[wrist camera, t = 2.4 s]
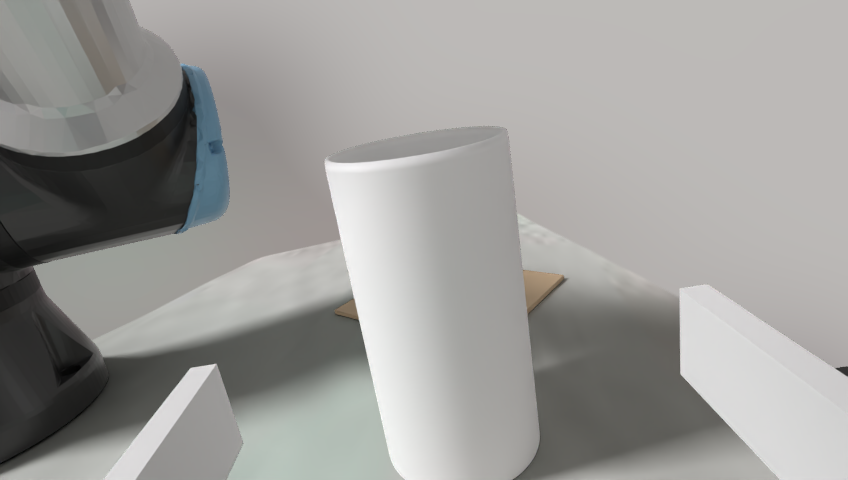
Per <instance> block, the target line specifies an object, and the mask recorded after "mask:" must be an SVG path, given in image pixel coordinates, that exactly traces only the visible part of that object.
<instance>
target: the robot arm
mask: <svg viewBox="0 0 848 480" xmlns="http://www.w3.org/2000/svg"><path fill="white" fill-rule="evenodd" d="M222 143H223V141H222V136H221V127H220V122H219V118H218V113H217V109H216V104H215V100H214V97H213V93H212V90H211V87H210V84H209V81H208V79H207V76H206V74H205V73H204V71H203V70H202V69H200V68H199V67H196V66H188V65H185V64H180V62H179V60H178V58H177V56H176V55H175V53H174V51H173V50H172V49H171V47H170V46H169V45H168V44H167V43H166V42H165V41H164V40H163V39H161V38H160V37H159V36H157V35H156V34H154V33H152V32H151V31H149V30H147V29H144V28H143V27H140V26H139V25H138V22H137V19H136V17H135V14H134V11H133V9H132V6H131V4H130V1H129V0H0V463H1V462H3V461H5V460H7V459H9V458H11V457H13V456H15V455H17V454H18V453H20V452H22V451H24V450H26V449H27V448H29V447H31V446H33V445H34V444H36V443H38V442H39V441H41V440H43V439H44V438H46V437H47V436H49V435H50V434H52V433H54V432H55V431H57V430H58V429H59V428H61V427H62V426H64V425H65V424H66V423H68V422H69V421H70V420H72V419H73V418H74V417H76V416H77V415H78V414H79V413H80V412H82V411H83V410H84V409H85V408H86V407H87V406H88V405H89V404H90V403H91V402H92V401H93V400H94V399H95V398H96V397H97V396H98V395H99V394H100V392H101V391H102V389H103V388H104V386H105V384H106V382H107V380H108V369H107V367H106V365H105V362H104V360H103V358H102V355H101V353H100V351H99V349H98V347H97V346H96V345H95V344H94V343H93V342H92V341H91V340H90V339H89V338H88V337H87V336H86V335H85V334H84V333H83V332H82V331H81V330H80V329H79V328H78V327H77V326H76V325H75V324H74V323H73V322H72V321H71V320H70V319H69V318H68V317H67V316H66V315H65V314H64V313H63V312H62V311H61V309H60V308H59V307H57V306H56V304H54V303H53V301H52V300H51V299H50V298H49V297H48V296H47V295H46V294H45V292H44V290H43V288H42V286H41V284H40V281H39V279H38V277H37V275H36V272H35V270H34V268H33V266H34V265H38V264H42V263H48V262H50V261H53V260H58V259H63V258H67V257H72V256H76V255H81V254H85V253H89V252H94V251H98V250H103V249H107V248H112V247H116V246H121V245H125V244H130V243H134V242H138V241H142V240H147V239H152V238H156V237H161V236H165V235H169V234H179V233H183V232H184V231H186V230H188V228H191V227H195V226H198V225H202V224H205V223H209V222H212V221H215V220H217V219H219V218H220V217H221V216H222V215H223V214H224V213H225V211H226V210H227V207H228V204H229V197H230V188H229V177H228V168H227V161H226V155H225V151H224V148H223V146H222ZM680 374H681V375H682V376H683V377H684V379H685V380H686V381H687V382H688V383H689V384H690V385H691V386H692V387H693V388H694V389H695V390H696V391H697V392H698V393H699V394H700V395H701V397H702V398H703V399H704V400H705V401H706V402H707V403H708V404H709V405H710V406H711V407H712V408H713V409H714V410H715V411H716V412H717V413H718V415H719V416H720V417H721V418H722V419H723V420H724V421H725V422H726V423H727V424H728V425H729V426H730V427H731V428H732V429H733V430H734V432H735V433H736V434H737V435H738V436H739V437H740V438H741V439H742V440H743V441H744V442H745V443H746V444H747V445H748V446H749V447H750V448H751V450H752V451H753V452H754V453H755V454H756V455H757V456H758V457H759V458H760V459H761V460H762V461H763V462H764V463H765V464H766V465H767V467H768V468H769V469H770V470H771V471H772V472H773V473H774V474H775V475H776V476H777V477H778V478H779V479H780V480H848V367H840V368H833V367H832V366H830V365H829V364H827V363H826V362H824V361H823V360H821V359H820V358H818V357H817V356H815V355H814V354H812V353H811V352H809V351H808V350H806V349H805V348H803V347H802V346H800V345H799V344H797V343H796V342H794V341H792V340H791V339H790V338H788V337H787V336H785V335H783V334H782V333H781V332H779V331H777V330H776V329H774V328H773V327H771V326H770V325H768V324H767V323H765V322H764V321H762V320H761V319H759V318H758V317H756V316H755V315H753V314H752V313H750V312H749V311H747V310H746V309H744V308H743V307H741V306H740V305H738V304H737V303H735V302H734V301H732V300H730V299H729V298H727V297H726V296H724V295H723V294H721V293H720V292H718V291H717V290H715V289H714V288H712V287H711V286H709V285H708V284H705V285H699V286H692V287H687V288H680ZM242 445H243V440H242V437H241V434H240V431H239V428H238V425H237V422H236V419H235V416H234V413H233V410H232V407H231V404H230V401H229V398H228V395H227V392H226V389H225V386H224V383H223V380H222V377H221V374H220V372H219V369H218V366H217V364H212V365H206V366H199V367H193V368H190V369H189V371H188V372H187V373H186V374H185V376H184V377H183V378H182V379H181V381H180V382H179V383H178V385H177V386H176V387H175V388H174V390H173V391H172V392H171V393H170V395H169V396H168V397H167V399H166V400H165V401H164V402H163V404H162V405H161V406H160V407H159V409H158V410H157V411H156V412H155V414H154V415H153V416H152V418H151V419H150V420H149V421H148V423H147V424H146V425H145V426H144V428H143V429H142V430H141V432H140V433H139V434H138V435H137V437H136V438H135V439H134V440H133V442H132V443H131V444H130V446H129V447H128V448H127V449H126V451H125V452H124V453H123V454H122V456H121V457H120V458H119V460H118V461H117V462H116V463H115V465H114V466H113V467H112V468H111V470H110V471H109V472H108V474H107V475H106V476H105V477H104V479H103V480H226V479H227V477H228V475H229V473H230V471H231V469H232V467H233V465H234V462H235V460H236V458H237V456H238V454H239V452H240V450H241V448H242Z"/></svg>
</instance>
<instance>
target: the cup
mask: <svg viewBox="0 0 848 480" xmlns="http://www.w3.org/2000/svg"><path fill="white" fill-rule="evenodd" d="M325 170H326V174H327V179H328V183H329V188H330V192H331V197H332V201H333V206H334V210H335V215H336V219H337V223H338V228H339V233H340V237H341V242H342V246H343V250H344V255H345V259H346V264H347V268H348V273H349V277H350V282H351V286H352V290H353V295H354V299H355V304H356V308H357V313H358V317H359V322H360V326H361V330H362V335H363V339H364V344H365V348H366V353H367V357H368V362H369V366H370V370H371V375H372V379H373V384H374V388H375V393H376V397H377V402H378V406H379V410H380V415H381V419H382V424H383V428H384V433H385V437H386V441H387V446H388V450H389V455H390V458H391V461H392V464H393V466H394V467H395V469H396V471H397V472H398V473H399V474H400V475H401V476H402V477H403V478H404V479H405V480H513V479H514V478H516V477H517V476H518V475H520V474H521V473H522V472H523V471H524V470H525V469H526V468H527V467H528V466H529V464H530V463H531V462H532V460H533V458H534V457H535V455H536V452H537V450H538V446H539V441H540V430H539V421H538V411H537V402H536V392H535V382H534V373H533V363H532V354H531V344H530V335H529V325H528V316H527V306H526V296H525V287H524V277H523V268H522V258H521V249H520V239H519V230H518V220H517V211H516V201H515V191H514V182H513V173H512V163H511V154H510V146H509V137H508V133H507V129H506V128H503V127H495V126H478V127H462V128H452V129H444V130H436V131H429V132H422V133H416V134H410V135H404V136H399V137H394V138H389V139H384V140H380V141H375V142H371V143H367V144H363V145H359V146H355V147H352V148H348V149H345V150H342V151H339V152H337V153H334V154H332V155H330V156H328V157H327V158H325Z"/></svg>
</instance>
